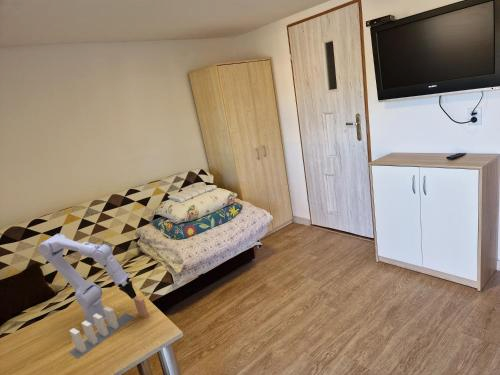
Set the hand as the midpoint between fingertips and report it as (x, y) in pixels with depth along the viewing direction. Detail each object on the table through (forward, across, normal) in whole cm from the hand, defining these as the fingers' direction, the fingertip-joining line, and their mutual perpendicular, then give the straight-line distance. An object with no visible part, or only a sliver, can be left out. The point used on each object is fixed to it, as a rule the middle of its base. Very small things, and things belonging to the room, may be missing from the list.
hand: (133, 296), depth 148 cm
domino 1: (+5, +1, +27) cm, 27 cm away
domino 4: (+7, +7, +13) cm, 17 cm away
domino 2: (+6, +3, +22) cm, 23 cm away
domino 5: (+11, +5, +1) cm, 13 cm away
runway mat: (+7, +5, +18) cm, 20 cm away
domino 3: (+6, +5, +18) cm, 20 cm away
